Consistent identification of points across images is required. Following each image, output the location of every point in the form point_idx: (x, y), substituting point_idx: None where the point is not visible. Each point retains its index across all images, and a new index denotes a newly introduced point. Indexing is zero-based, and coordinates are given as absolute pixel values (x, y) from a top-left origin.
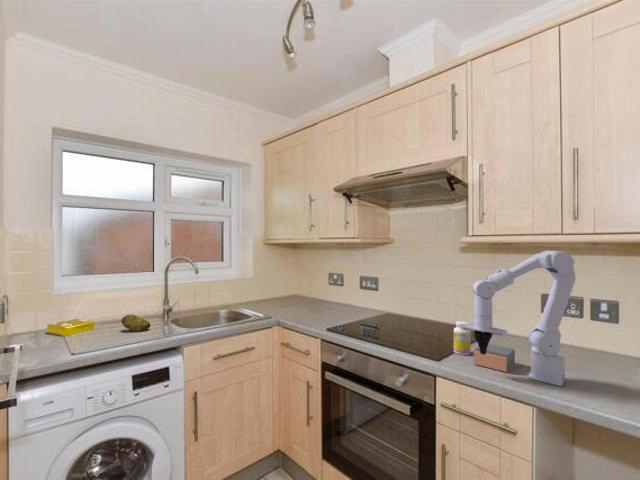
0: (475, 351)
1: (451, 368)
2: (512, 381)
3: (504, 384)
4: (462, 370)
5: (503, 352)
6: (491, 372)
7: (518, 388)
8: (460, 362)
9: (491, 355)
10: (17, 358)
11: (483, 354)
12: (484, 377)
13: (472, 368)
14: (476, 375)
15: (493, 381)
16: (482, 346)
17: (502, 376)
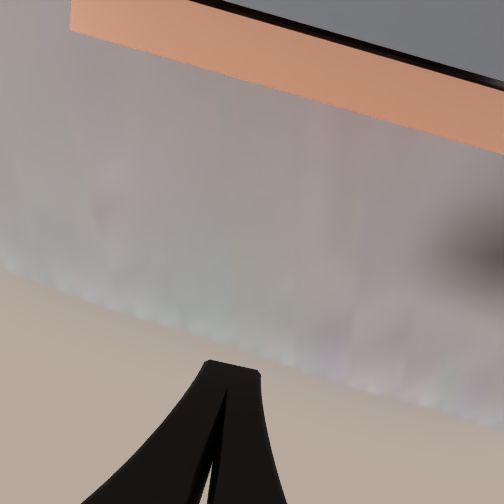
0: (94, 36)
1: (9, 247)
2: (483, 310)
3: (406, 385)
4: (94, 251)
5: None
6: (327, 178)
7: (493, 412)
8: (7, 20)
9: (340, 106)
10: None
11: (223, 71)
12: (270, 320)
13: (155, 155)
14: (211, 307)
15: (333, 365)
16: (196, 501)
17: (418, 235)
